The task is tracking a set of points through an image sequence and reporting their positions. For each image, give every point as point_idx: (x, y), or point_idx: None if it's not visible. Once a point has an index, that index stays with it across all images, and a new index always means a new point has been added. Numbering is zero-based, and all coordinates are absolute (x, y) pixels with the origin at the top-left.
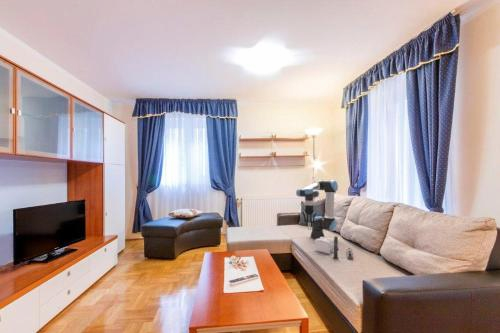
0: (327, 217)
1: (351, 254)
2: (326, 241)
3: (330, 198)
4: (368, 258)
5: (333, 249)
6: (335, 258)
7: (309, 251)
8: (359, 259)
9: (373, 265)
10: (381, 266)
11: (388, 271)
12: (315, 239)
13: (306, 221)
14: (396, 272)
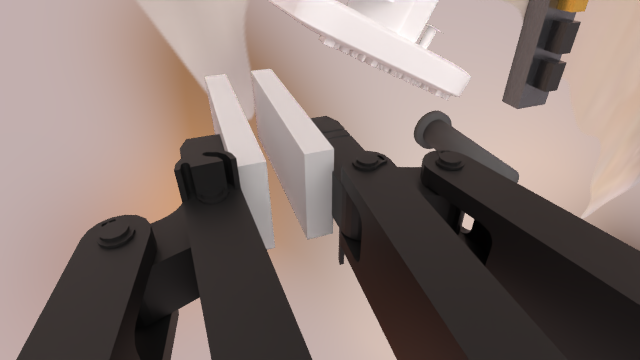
0: None
1: (556, 56)
2: (443, 90)
3: None
4: (632, 20)
5: None
6: (430, 148)
7: (209, 53)
8: (570, 69)
9: (594, 132)
10: (622, 126)
11: (614, 171)
12: (306, 25)
13: (193, 290)
14: (637, 165)
